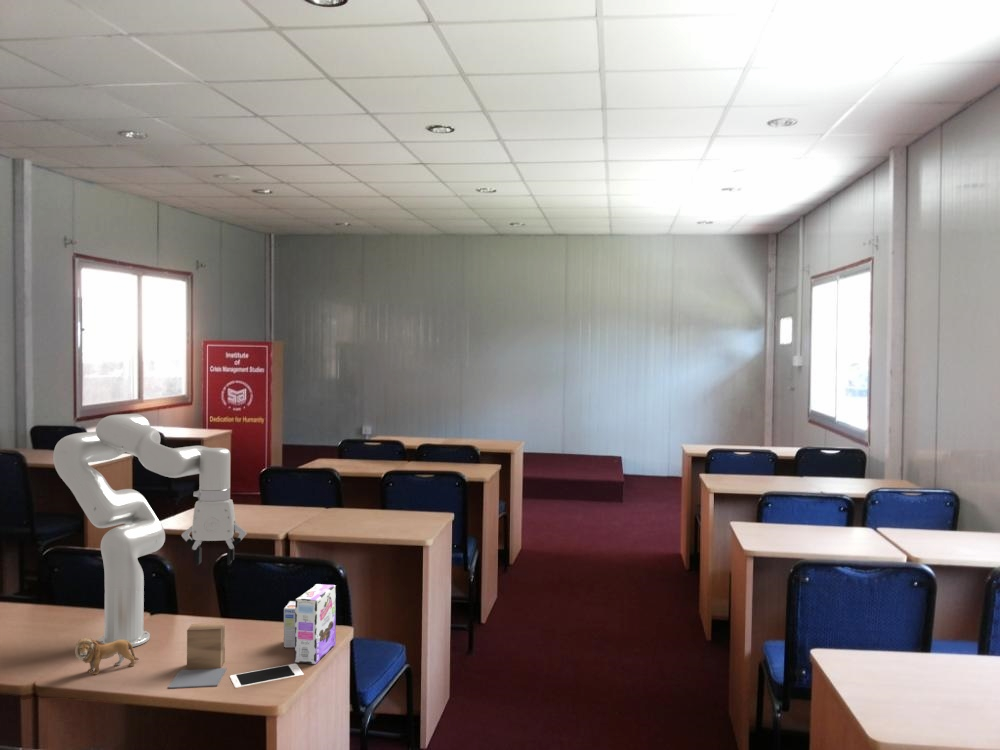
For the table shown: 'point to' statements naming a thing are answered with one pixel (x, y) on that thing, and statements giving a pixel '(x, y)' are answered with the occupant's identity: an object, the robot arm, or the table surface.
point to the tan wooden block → (205, 646)
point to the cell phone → (265, 675)
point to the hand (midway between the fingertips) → (214, 563)
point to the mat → (197, 678)
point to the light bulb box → (289, 624)
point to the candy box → (315, 623)
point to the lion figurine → (103, 652)
